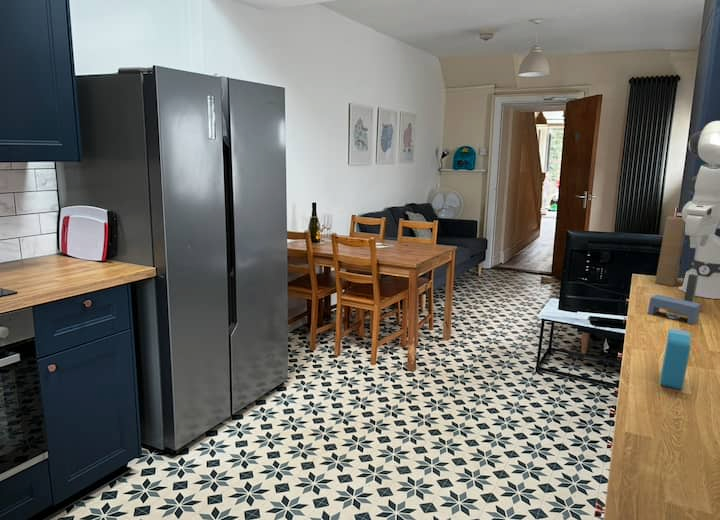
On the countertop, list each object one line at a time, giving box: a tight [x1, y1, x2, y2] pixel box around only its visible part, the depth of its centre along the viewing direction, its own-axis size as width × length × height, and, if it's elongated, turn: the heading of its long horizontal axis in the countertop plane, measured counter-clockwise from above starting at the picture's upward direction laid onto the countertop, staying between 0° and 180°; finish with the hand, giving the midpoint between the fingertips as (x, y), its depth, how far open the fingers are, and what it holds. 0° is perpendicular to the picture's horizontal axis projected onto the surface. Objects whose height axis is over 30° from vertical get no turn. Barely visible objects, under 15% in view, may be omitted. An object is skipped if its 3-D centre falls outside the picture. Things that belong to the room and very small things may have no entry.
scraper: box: [666, 274, 699, 317], centre depth 191 cm, size 12×7×13 cm, turn 133°
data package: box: [660, 328, 692, 390], centre depth 129 cm, size 12×4×12 cm, turn 149°
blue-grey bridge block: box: [647, 294, 702, 325], centre depth 183 cm, size 7×14×6 cm, turn 43°
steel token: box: [665, 313, 680, 320], centre depth 184 cm, size 4×4×1 cm
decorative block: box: [654, 215, 686, 287], centre depth 234 cm, size 8×15×30 cm, turn 144°
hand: (697, 247), depth 191 cm, fingers open, 8 cm apart
